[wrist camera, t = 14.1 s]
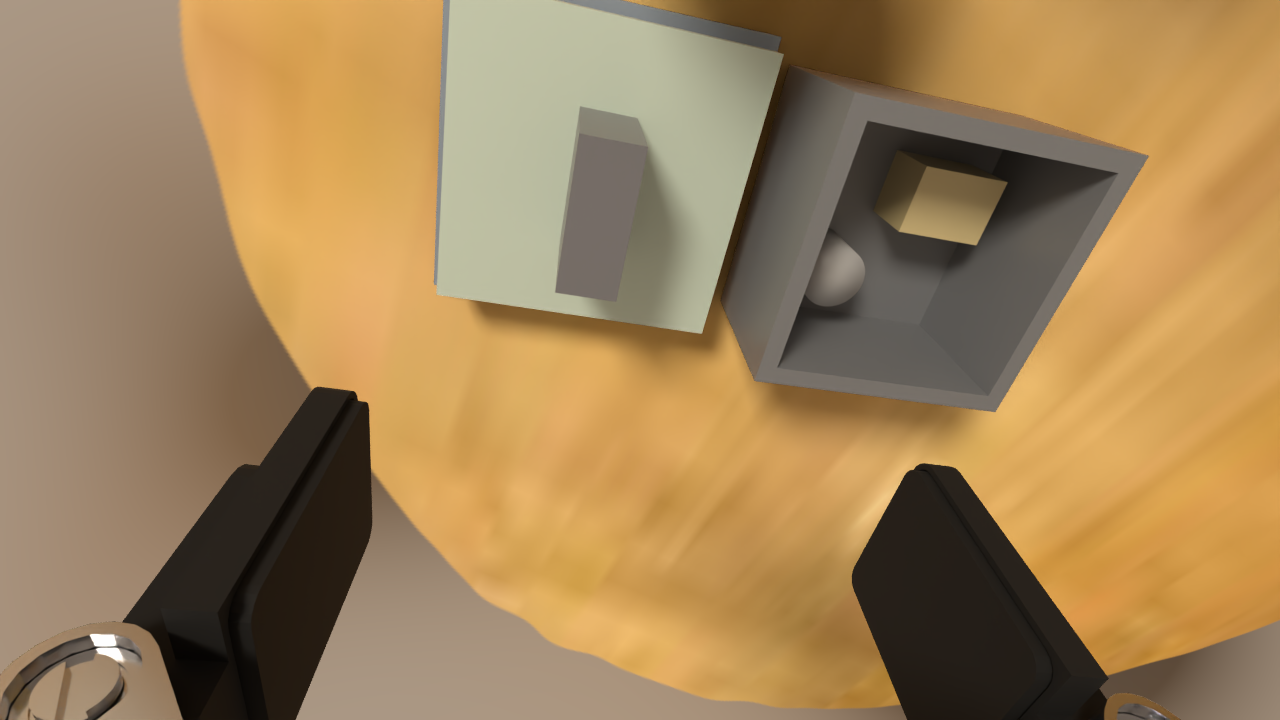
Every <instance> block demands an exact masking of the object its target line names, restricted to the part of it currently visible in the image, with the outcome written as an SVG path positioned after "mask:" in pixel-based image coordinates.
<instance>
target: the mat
mask: <svg viewBox="0 0 1280 720" xmlns="http://www.w3.org/2000/svg"><path fill="white" fill-rule="evenodd" d="M559 1H563V2H567V3H572V4H576V5H580V6H585V7H589V8H593V9H597V10H602V11H606V12H610V13H615V14H619V15H623V16H627V17H632V18H636V19H640V20H644V21H649V22H653V23H657V24H662V25H666V26H670V27H674V28H679V29H683V30H687V31H692V32H696V33H700V34H704V35H709V36H713V37H717V38H721V39H726V40H730V41H734V42H739V43H743V44H747V45H751V46H756V47H760V48H764V49H769V50H773V51H777V52H778V48H779V45H780V41H781V37H779V36H776V35H772V34H767V33H763V32H759V31H754V30H750V29H745V28H741V27H737V26H732V25H728V24H724V23H719V22H715V21H710V20H706V19H702V18H697V17H693V16H688V15H684V14H680V13H675V12H671V11H666V10H662V9H658V8H653V7H649V6H645V5H640V4H636V3H631V2H627V1H623V0H559ZM449 10H450V0H443V30H442V60H441V90H440V120H439V150H438V180H437V210H436V240H435V270H434V285H437V274H438V252H439V230H440V208H441V186H442V164H443V142H444V120H445V98H446V76H447V54H448V32H449Z"/></svg>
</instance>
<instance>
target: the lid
mask: <svg viewBox="0 0 1280 720" xmlns="http://www.w3.org/2000/svg"><path fill="white" fill-rule="evenodd" d="M783 56H784V54H782V53H779V52H777V51H773V50H769V49H764V48H760V47H756V46H751V45H747V44H743V43H739V42H734V41H730V40H726V39H721V38H717V37H713V36H709V35H704V34H700V33H696V32H692V31H687V30H683V29H679V28H674V27H670V26H666V25H662V24H657V23H653V22H649V21H644V20H640V19H636V18H632V17H627V16H623V15H619V14H615V13H610V12H606V11H602V10H597V9H593V8H589V7H585V6H580V5H576V4H572V3H567V2H563V1H559V0H450V10H449V32H448V54H447V76H446V98H445V120H444V142H443V164H442V186H441V208H440V230H439V252H438V274H437V295H443V296H449V297H456V298H463V299H470V300H476V301H483V302H490V303H497V304H503V305H510V306H517V307H524V308H531V309H537V310H544V311H551V312H558V313H564V314H571V315H578V316H585V317H591V318H598V319H605V320H612V321H619V322H625V323H632V324H639V325H646V326H652V327H659V328H666V329H673V330H679V331H686V332H693V333H700V334H702V332H703V328H704V325H705V322H706V318H707V315H708V311H709V308H710V305H711V301H712V298H713V294H714V291H715V287H716V284H717V281H718V277H719V274H720V270H721V267H722V264H723V260H724V257H725V253H726V250H727V247H728V243H729V240H730V236H731V233H732V229H733V226H734V223H735V219H736V216H737V212H738V209H739V206H740V202H741V199H742V195H743V192H744V189H745V185H746V182H747V178H748V175H749V172H750V168H751V165H752V161H753V158H754V154H755V151H756V148H757V144H758V141H759V137H760V134H761V131H762V127H763V124H764V120H765V117H766V114H767V110H768V107H769V103H770V100H771V96H772V93H773V90H774V86H775V83H776V79H777V76H778V73H779V69H780V66H781V62H782V59H783Z"/></svg>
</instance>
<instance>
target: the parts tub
mask: <svg viewBox="0 0 1280 720" xmlns="http://www.w3.org/2000/svg"><path fill="white" fill-rule="evenodd" d="M1148 157H1149V156H1148V155H1145V154H1141V153H1138V152H1135V151H1132V150H1129V149H1126V148H1122V147H1119V146H1116V145H1113V144H1110V143H1107V142H1103V141H1100V140H1097V139H1094V138H1091V137H1088V136H1084V135H1081V134H1078V133H1075V132H1072V131H1069V130H1065V129H1062V128H1059V127H1056V126H1053V125H1050V124H1046V123H1043V122H1040V121H1037V120H1034V119H1031V118H1027V117H1024V116H1021V115H1016V114H1012V113H1007V112H1003V111H998V110H994V109H989V108H985V107H980V106H975V105H971V104H966V103H962V102H957V101H953V100H948V99H944V98H939V97H935V96H930V95H926V94H921V93H917V92H912V91H907V90H903V89H898V88H894V87H889V86H885V85H880V84H876V83H871V82H867V81H862V80H858V79H853V78H849V77H844V76H839V75H835V74H830V73H826V72H821V71H817V70H812V69H808V68H803V67H799V66H794V65H789V68H788V71H787V75H786V78H785V82H784V85H783V89H782V92H781V95H780V99H779V102H778V106H777V109H776V113H775V116H774V119H773V123H772V126H771V130H770V133H769V137H768V140H767V143H766V147H765V150H764V154H763V157H762V161H761V164H760V167H759V171H758V174H757V178H756V181H755V184H754V188H753V191H752V195H751V198H750V202H749V205H748V208H747V212H746V215H745V219H744V222H743V226H742V229H741V232H740V236H739V239H738V243H737V246H736V250H735V253H734V256H733V260H732V263H731V267H730V270H729V274H728V277H727V280H726V284H725V287H724V291H723V294H722V297H721V303H722V305H723V308H724V310H725V312H726V315H727V317H728V320H729V322H730V324H731V327H732V329H733V331H734V334H735V336H736V338H737V341H738V343H739V346H740V348H741V350H742V353H743V355H744V357H745V360H746V362H747V364H748V367H749V369H750V371H751V374H752V376H753V379H754V381H759V382H766V383H774V384H782V385H790V386H797V387H805V388H813V389H821V390H828V391H836V392H844V393H852V394H859V395H867V396H875V397H883V398H890V399H898V400H906V401H914V402H922V403H929V404H937V405H945V406H953V407H960V408H968V409H976V410H984V411H991V412H996V410H997V408H998V407H999V405H1000V403H1001V402H1002V400H1003V398H1004V397H1005V395H1006V393H1007V392H1008V390H1009V388H1010V387H1011V385H1012V383H1013V382H1014V380H1015V378H1016V377H1017V375H1018V373H1019V372H1020V370H1021V368H1022V367H1023V365H1024V363H1025V362H1026V360H1027V358H1028V357H1029V355H1030V353H1031V352H1032V350H1033V348H1034V347H1035V345H1036V343H1037V342H1038V340H1039V338H1040V337H1041V335H1042V333H1043V332H1044V330H1045V328H1046V327H1047V325H1048V323H1049V322H1050V320H1051V318H1052V317H1053V315H1054V313H1055V312H1056V310H1057V308H1058V307H1059V305H1060V303H1061V302H1062V300H1063V298H1064V297H1065V295H1066V293H1067V292H1068V290H1069V288H1070V287H1071V285H1072V283H1073V282H1074V280H1075V278H1076V277H1077V275H1078V273H1079V272H1080V270H1081V268H1082V267H1083V265H1084V263H1085V262H1086V260H1087V258H1088V257H1089V255H1090V253H1091V252H1092V250H1093V248H1094V247H1095V245H1096V243H1097V242H1098V240H1099V238H1100V237H1101V235H1102V233H1103V232H1104V230H1105V228H1106V227H1107V225H1108V223H1109V222H1110V220H1111V218H1112V217H1113V215H1114V213H1115V212H1116V210H1117V208H1118V207H1119V205H1120V203H1121V202H1122V200H1123V198H1124V197H1125V195H1126V193H1127V192H1128V190H1129V188H1130V187H1131V185H1132V183H1133V182H1134V180H1135V178H1136V177H1137V175H1138V173H1139V172H1140V170H1141V168H1142V167H1143V165H1144V163H1145V162H1146V160H1147V158H1148Z"/></svg>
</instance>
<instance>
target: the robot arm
mask: <svg viewBox="0 0 1280 720" xmlns="http://www.w3.org/2000/svg"><path fill="white" fill-rule="evenodd" d="M371 529H372V495H371V460H370V427H369V406H368V403H367V402H362V401H358V399H357V395H356V393H355V392H354V391H348V390H340V389H332V388H324V387H316V388H314V389H313V390H312V391H311V393H310V394H309V395H308V397H307V398H306V400H305V402H304V403H303V404H302V406H301V407H300V408H299V410H298V411H297V413H296V414H295V416H294V417H293V418H292V420H291V421H290V423H289V424H288V426H287V427H286V428H285V430H284V431H283V433H282V434H281V436H280V437H279V438H278V440H277V442H276V443H275V444H274V446H273V447H272V449H271V450H270V451H269V453H268V454H267V456H266V457H265V459H264V460H263V462H262V463H261V464H260V466H257V465H248V464H244V465H242V466H241V467H239V468H237V470H236V471H235V472H234V473H233V474H232V475H231V476H230V477H229V479H228V480H227V481H226V483H225V484H224V485H223V487H222V488H221V490H220V491H219V492H218V494H217V495H216V496H215V498H214V499H213V500H212V502H211V503H210V504H209V506H208V507H207V508H206V510H205V511H204V512H203V514H202V515H201V516H200V518H199V519H198V521H197V522H196V523H195V525H194V526H193V527H192V529H191V530H190V531H189V533H188V534H187V535H186V537H185V538H184V539H183V541H182V542H181V543H180V545H179V546H178V548H177V549H176V550H175V552H174V553H173V554H172V556H171V557H170V558H169V560H168V561H167V563H166V564H165V565H164V566H163V568H162V569H161V571H160V572H159V573H158V575H157V576H156V577H155V579H154V580H153V581H152V583H151V584H150V585H149V587H148V588H147V590H146V591H145V592H144V594H143V595H142V596H141V598H140V599H139V600H138V602H137V603H136V604H135V606H134V607H133V608H132V610H131V611H130V612H129V614H128V615H127V617H126V618H125V619H124V620H123V622H122V623H121V622H115V621H113V622H103V623H93V624H88V625H84V626H81V627H77V628H74V629H71V630H68V631H64V632H62V633H60V634H58V635H56V636H54V637H51V638H49V639H47V640H45V641H43V642H41V643H39V644H37V645H35V646H34V647H33V648H31V649H30V650H28V651H27V652H26V653H24V654H23V655H21V656H20V657H19V658H17V659H16V660H15V661H13V662H12V663H11V664H10V665H9V666H8V667H7V668H6V669H5V670H4V671H3V672H2V673H1V674H0V720H296V717H297V715H298V712H299V710H300V708H301V705H302V702H303V700H304V698H305V696H306V693H307V691H308V688H309V686H310V683H311V681H312V678H313V676H314V673H315V671H316V669H317V666H318V664H319V661H320V659H321V657H322V654H323V652H324V649H325V647H326V644H327V642H328V640H329V637H330V635H331V632H332V630H333V627H334V625H335V622H336V620H337V617H338V615H339V613H340V610H341V608H342V605H343V603H344V601H345V598H346V596H347V593H348V591H349V588H350V586H351V583H352V581H353V579H354V576H355V574H356V571H357V569H358V566H359V564H360V562H361V559H362V557H363V554H364V552H365V549H366V547H367V544H368V542H369V538H370V534H371ZM852 585H853V589H854V592H855V594H856V596H857V599H858V601H859V604H860V606H861V609H862V611H863V613H864V616H865V618H866V621H867V623H868V626H869V628H870V630H871V633H872V635H873V638H874V640H875V643H876V645H877V647H878V650H879V652H880V655H881V657H882V660H883V662H884V664H885V667H886V669H887V672H888V674H889V677H890V679H891V681H892V684H893V686H894V689H895V691H896V694H897V696H898V698H899V701H900V703H901V706H902V708H903V710H904V713H905V715H906V718H907V720H1181V719H1179V718H1178V717H1176V716H1175V715H1174V714H1172V713H1171V712H1169V711H1168V710H1166V709H1165V708H1164V707H1162V706H1160V705H1158V704H1156V703H1154V702H1152V701H1150V700H1148V699H1146V698H1144V697H1141V696H1137V695H1134V694H1130V693H1116V694H1115V695H1113V696H1111V697H1110V698H1108V699H1106V698H1105V696H1104V695H1103V694H1102V692H1101V691H1100V689H1099V688H1100V687H1101V686H1102V685H1103V684H1104V683H1105V682H1106V681H1107V680H1108V677H1107V676H1106V674H1105V673H1104V671H1103V670H1102V669H1101V667H1100V666H1099V664H1098V663H1097V662H1096V660H1095V659H1094V658H1093V656H1092V655H1091V653H1090V652H1089V651H1088V649H1087V648H1086V646H1085V645H1084V644H1083V642H1082V641H1081V640H1080V638H1079V637H1078V635H1077V634H1076V633H1075V631H1074V630H1073V628H1072V627H1071V626H1070V624H1069V623H1068V622H1067V620H1066V619H1065V617H1064V616H1063V615H1062V613H1061V612H1060V610H1059V609H1058V608H1057V606H1056V605H1055V604H1054V602H1053V601H1052V599H1051V598H1050V597H1049V595H1048V594H1047V592H1046V591H1045V590H1044V588H1043V587H1042V586H1041V584H1040V583H1039V581H1038V580H1037V579H1036V577H1035V576H1034V574H1033V573H1032V572H1031V570H1030V569H1029V568H1028V566H1027V565H1026V563H1025V562H1024V561H1023V559H1022V558H1021V556H1020V555H1019V554H1018V552H1017V551H1016V550H1015V548H1014V547H1013V545H1012V544H1011V543H1010V541H1009V540H1008V538H1007V537H1006V536H1005V534H1004V533H1003V532H1002V530H1001V529H1000V527H999V526H998V525H997V523H996V522H995V520H994V519H993V518H992V516H991V515H990V514H989V512H988V511H987V509H986V508H985V507H984V505H983V504H982V502H981V501H980V500H979V498H978V497H977V496H976V494H975V493H974V491H973V490H972V489H971V487H970V486H969V484H968V483H967V482H966V480H965V479H964V478H963V476H962V475H961V473H960V472H959V471H958V470H957V469H956V468H953V467H949V466H941V465H933V464H925V463H924V464H919V465H918V466H916V467H915V469H914V470H910V471H908V472H907V473H906V475H905V476H904V478H903V480H902V481H901V483H900V485H899V487H898V489H897V490H896V492H895V494H894V496H893V498H892V499H891V501H890V503H889V505H888V507H887V509H886V510H885V512H884V514H883V516H882V518H881V519H880V521H879V523H878V525H877V527H876V529H875V530H874V532H873V534H872V536H871V538H870V539H869V541H868V543H867V545H866V547H865V549H864V550H863V552H862V554H861V556H860V558H859V559H858V561H857V563H856V565H855V567H854V569H853V573H852Z"/></svg>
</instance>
